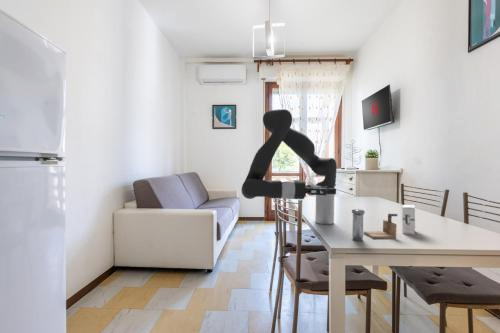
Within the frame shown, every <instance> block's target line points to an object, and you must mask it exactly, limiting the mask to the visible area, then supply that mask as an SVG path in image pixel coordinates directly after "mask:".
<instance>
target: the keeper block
mask: <svg viewBox="0 0 500 333" xmlns="http://www.w3.org/2000/svg"><path fill="white" fill-rule="evenodd" d="M392 217H398V213H387V219H382V230H379V231H375V230H374V231H373V230H372V231H371V230H369V231H365V230H363V235H365V236H367V237H369V238H371V239H372V240H374V239H375V240H377V239H378V240H384V239H387V240H389V239H390V240H391V239H395V240H396V239H397V223H394V222H392Z"/></svg>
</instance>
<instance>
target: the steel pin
mask: <svg viewBox="0 0 500 333" xmlns="http://www.w3.org/2000/svg"><path fill="white" fill-rule="evenodd" d="M351 213H352V232H351V234H352V237H351V238H352V240H353V241H355V242H363V241H364V214H365V210H364V209H359V208H358V209H357V208H354V209H351Z"/></svg>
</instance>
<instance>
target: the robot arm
mask: <svg viewBox="0 0 500 333" xmlns="http://www.w3.org/2000/svg"><path fill="white" fill-rule="evenodd" d="M262 124H263V126H264V127H265V128H266V130H267V131H268V132H269V133H271V134H270V136H269V137H268V139H267V140H266V141H265V142H264V143H263V145H262V146H261V147H260V148H258V150H257V151H256V153H255V155H254V157H253V159H252V161H251V164H250V167H249V171H248V174H247V175H246V178H245V180H244V182H243V183H242V185H241V194H242V196H243V197H244V198H245V199H249V200H253V199H254V198H255V199H256V197H257V198H258V197H261V198H264V197H265V198H268V199H283V200H284V199H285V200H304V199H305V198H306V195H309V196H315V214H314V215H315V218H314V219H315V223H316V224H319V225H332V224H335V195H336V194H337V189H336V188H335V186H336V183H337V182H336V181H337V161H336V160H335V158H333V157H320V156H318V155H316V153H315V151H316V150H315V149H316V148H315V143H314V142H313V141H312V140H311V139H310V138H309V136H307V135H306V134H304V133H302V132H301V131H298V130H296V129H294V128H292V127H291V126H292V124H293V115H292V113H291V111H290V110H289V109H286V108H280V109H271V110H268V111H266V112H265V113H264V114H263V116H262ZM282 143H284V144H285V145H286V146H287V147H288V148H290V150H292V151H293V153H294V154H296V155H297V156H298V157H299V158H300V159H301V160H302V161H303V162H305V164H306V165H307V166H308V167H309V168H310V169H311V171H312V172H313V173H314V174H315V175H317V176H324V179H323V180H322V181H319V182H317V183H316V184H306V182H305V181H304V180H303V179H301V180H300V179H299V180H298V179H296V180H295V179H283V180H274V179H273V180H266V179H265V177H266V175H267V174H268V172H269V168H270V166H271V163H272V160H273V158H274V156H275V154H276V153H277V151H278V148H280V145H281V144H282Z"/></svg>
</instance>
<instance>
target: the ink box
mask: <svg viewBox="0 0 500 333" xmlns="http://www.w3.org/2000/svg"><path fill="white" fill-rule="evenodd" d="M415 207H416V206H415V205H413V204H402V207H401V211H402V213H401V214H402V216H401V218H402V224H401V225H402V232H401V233H402V234H405V235H412V236H414V235H416V234H415V233H416V211H415V210H416V208H415Z"/></svg>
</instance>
